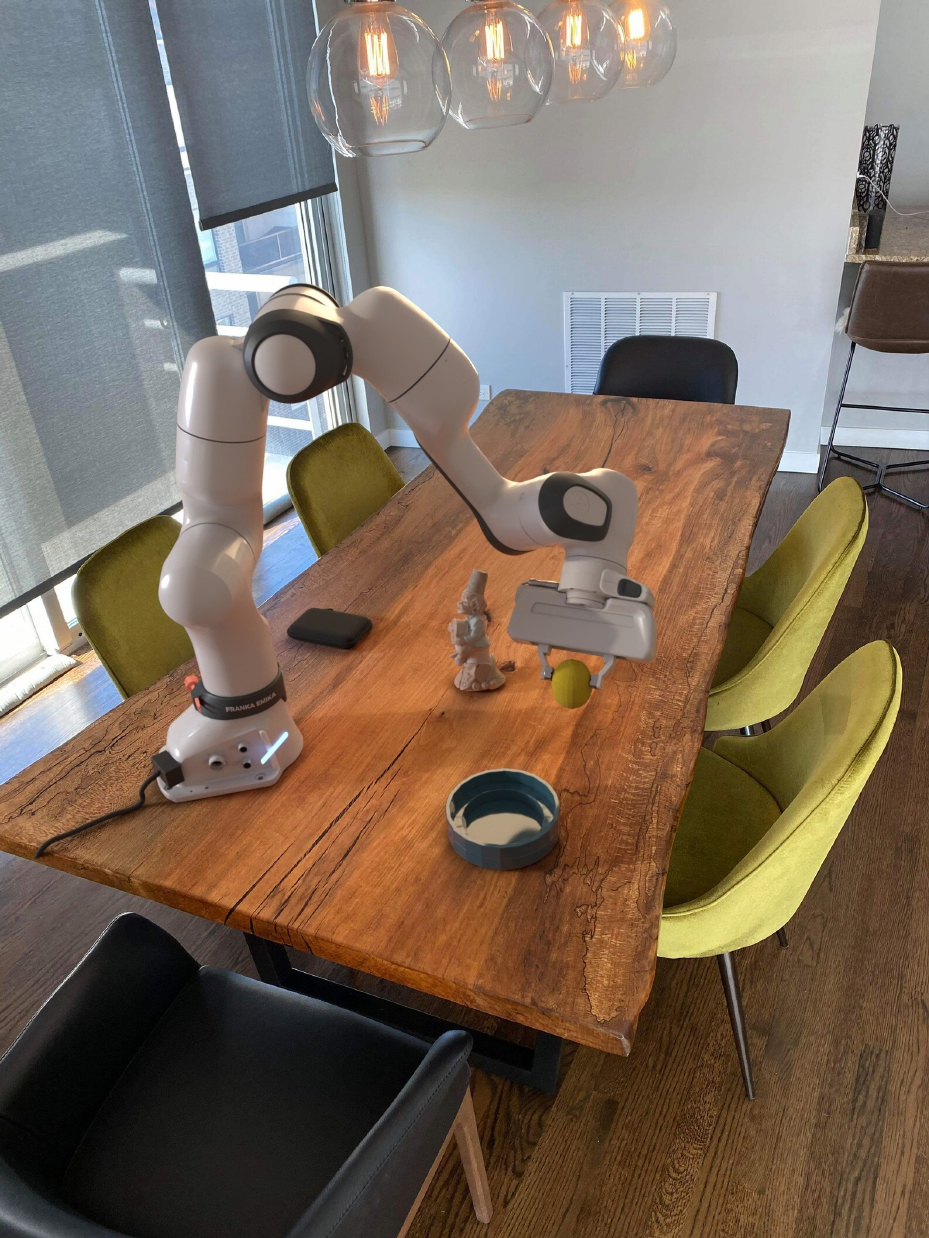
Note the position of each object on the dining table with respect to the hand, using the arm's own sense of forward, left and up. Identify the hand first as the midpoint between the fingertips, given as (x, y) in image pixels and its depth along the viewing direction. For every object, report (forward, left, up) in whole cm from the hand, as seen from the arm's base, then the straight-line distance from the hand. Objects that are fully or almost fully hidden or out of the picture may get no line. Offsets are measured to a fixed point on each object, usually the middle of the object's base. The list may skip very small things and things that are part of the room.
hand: (571, 684), depth 123 cm
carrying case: (-20, +57, -18) cm, 62 cm away
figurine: (-2, +30, -18) cm, 34 cm away
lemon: (0, 0, -5) cm, 5 cm away
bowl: (-13, -4, -17) cm, 22 cm away
